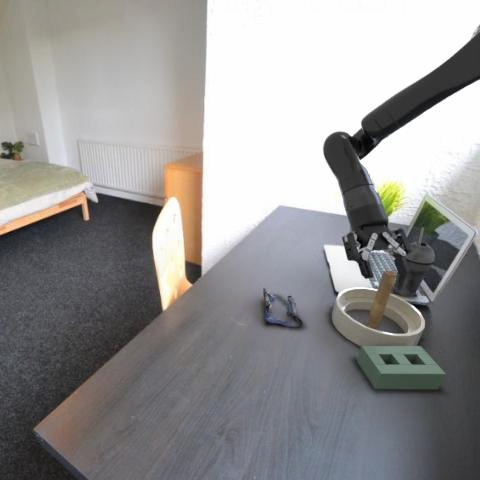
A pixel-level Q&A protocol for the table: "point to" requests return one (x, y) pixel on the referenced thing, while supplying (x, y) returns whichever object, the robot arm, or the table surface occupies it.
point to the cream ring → (394, 310)
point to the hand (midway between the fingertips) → (387, 276)
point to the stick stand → (400, 367)
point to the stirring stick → (381, 299)
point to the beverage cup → (415, 268)
